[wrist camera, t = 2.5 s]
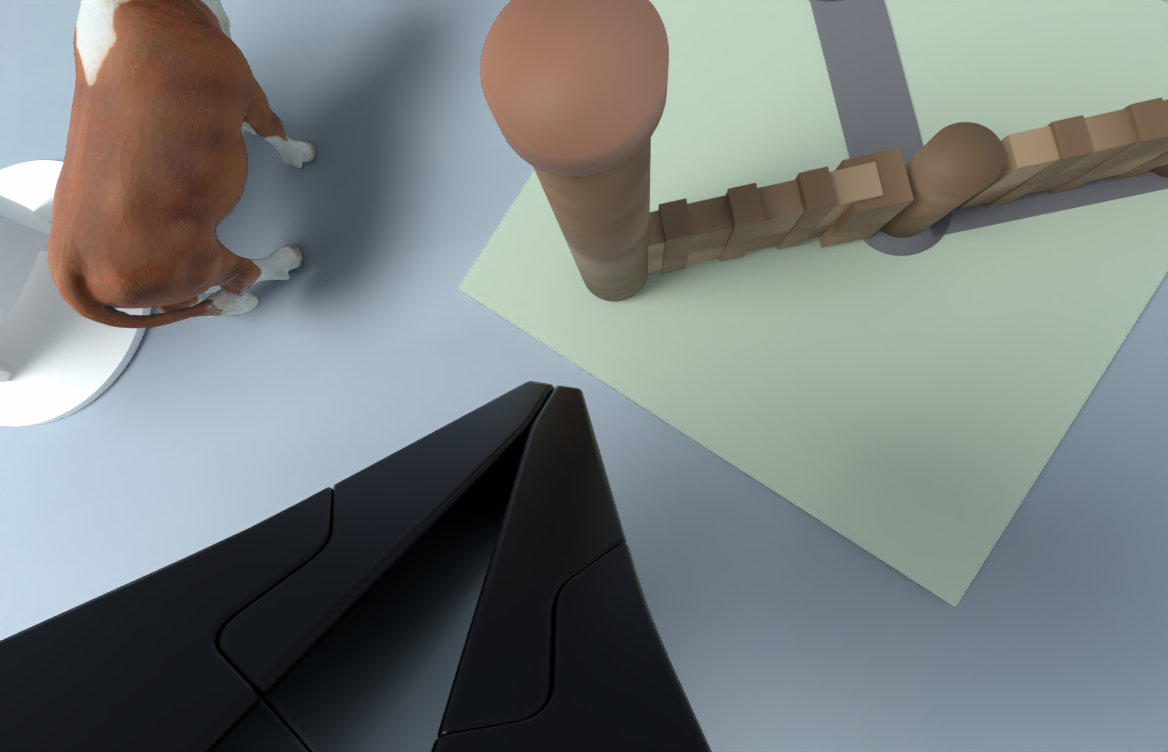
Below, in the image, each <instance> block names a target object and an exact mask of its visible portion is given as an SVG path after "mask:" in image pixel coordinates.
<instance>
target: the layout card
mask: <svg viewBox="0 0 1168 752" xmlns="http://www.w3.org/2000/svg"><path fill="white" fill-rule="evenodd" d="M649 1H650V2H651V3H652V4H653V6H654V7H655V9H656V10H657V12H658V13H659V15H660V17H661V19H662V21H663V24H664V26H665V30H666V33H667V37H668V44H669V68H668V84H667V96H666V104H665V107H664V111H663V115H662V117H661V119H660V122H659V124H658V126H657V128H656V130H655V131H654V133H653V135H652V136H651V162H650V212H653V211H657V210H658V207H659V204H662V203H667V202H671V201H676V200H680V199H685V198H686V200H687V204H689V203H693V202H697V201H702V200H706V199H711V198H715V197H720V196H724V195H726V193H727V190H728V189H729V188H734V187H738V186H743V185H747V184H751V183H756V184H757V188H760V187H764V186H769V185H773V184H778V183H782V182H787V181H791V180H795V179H796V177H797V175H798V174H799V173H800V172H805V171H809V170H814V169H818V168H823V167H827V166H828V169H829V172H832V171H835V170H836V168H837V167H838V166H839V164H840V163H841V161H842V160H845V159H850V158H854V157H859V156H863V155H868V154H872V153H876V152H881V151H885V150H890V149H894V148H899V147H900V149H901V153H902V156H903V160H904V164H906V163H907V162H908V161H909V160H910V159H911V158H912V157H913V156H914V155H915V154H916V153H917V152H918V151H919V150H920V149H921V148H922V147H923V146H924V145H925V144H926V143H927V142H928V141H929V140H930V139H931V138H932V137H933V136H934V135H935V134H936V133H938V132H939V131H940V130H941V129H943V128H944V127H946V126H948V125H951V124H954V123H959V122H972V123H977V124H980V125H983V126H985V127H987V128H988V129H990V130H991V131H993V132H994V133H995V134H996V135H997V136H998V138H999V139H1000V141H1001V140H1002V139H1004V138H1005V137H1006V136H1007V135H1010V134H1014V133H1019V132H1023V131H1028V130H1032V129H1037V128H1041V127H1045V126H1047V125H1048V124H1050V123H1051V122H1054V121H1058V120H1062V119H1067V118H1071V117H1076V116H1080V115H1083V116H1084V118H1086V117H1090V116H1095V115H1099V114H1104V113H1108V112H1113V111H1117V110H1122V109H1124V108H1125V107H1127V106H1128V105H1130V104H1134V103H1138V102H1143V101H1147V100H1152V99H1156V98H1161V97H1162V99H1163V100H1166V99H1168V3H1166V2H1164V1H1161V0H649ZM1167 272H1168V178H1165V177H1161V176H1159V175H1156V174H1155V173H1153V172H1152V171H1148V172H1146V173H1144V174H1142V175H1140V176H1135V177H1130V178H1125V179H1121V180H1116V181H1114V179H1113V176H1111V177H1107V178H1102V179H1097V180H1093V181H1089V182H1087V183H1085V184H1083V185H1082V186H1080V187H1078V188H1076V189H1073V190H1068V191H1064V192H1059V193H1054V194H1049V192H1048V190H1045V191H1041V192H1036V193H1031V194H1026V195H1023V196H1021V197H1020V198H1018V199H1016V200H1015V201H1013V202H1011V203H1007V204H1002V205H997V206H993V207H988V208H986V206H985V203H984V204H979V205H975V206H970V207H965V208H960V209H958V207H957V208H955V209H954V210H952V211H951V212H949V213H948V214H946V215H945V216H944V217H942V218H941V219H939V220H938V221H936V222H935V223H934V224H932V225H931V226H929V227H928V228H926V229H925V230H924V231H922V232H921V233H919V234H917V235H915V236H912V237H908V238H897V237H892V236H890V235H887V234H886V233H884V232H882V231H881V230H880V229H879V230H878V231H876V232H875V233H874V234H873V235H872V236H870V237H869V238H864V239H860V240H855V241H850V242H845V243H841V244H836V245H831V246H826V247H822V248H821V246H820V242H819V238H818V237H816V238H811V239H806V240H805V241H804V242H803V243H802V244H801V245H796V246H792V247H787V248H782V249H777V246H773V247H768V248H764V249H759V250H754V251H750V252H745V254H744V255H743V257H740V258H735V259H730V260H725V261H721V262H719V258H717V259H712V260H707V261H702V262H698V263H693V264H688V265H686V268H685V269H683V270H678V271H673V272H669V273H664V274H662V270H660V271H655V272H651V273H648V277H647V280H646V282H645V284H644V286H643V287H642V288H641V290H640V291H639V292H638V293H636V294H635V295H634V296H632V297H630V298H628V299H626V300H623V301H617V302H612V301H606V300H603V299H600V298H598V297H596V296H595V295H594V294H592V293H591V292H590V291H589V289H588V288H587V287H586V285H585V283H584V281H583V279H582V276H581V274H580V272H579V270H578V267H577V265H576V263H575V260H574V258H573V256H572V254H571V251H570V249H569V247H568V245H567V242H566V240H565V238H564V235H563V233H562V231H561V229H560V226H559V224H558V222H557V220H556V217H555V215H554V213H553V210H552V208H551V206H550V204H549V201H548V199H547V197H546V195H545V192H544V190H543V188H542V185H541V183H540V181H539V179H538V176H537V174H536V172H535V170H534V172H533V173H532V175H531V176H530V178H529V179H528V181H527V182H526V184H525V185H524V187H523V188H522V190H521V191H520V193H519V195H518V196H517V198H516V199H515V201H514V202H513V204H512V205H511V207H510V208H509V210H508V211H507V213H506V215H505V216H504V218H503V219H502V221H501V222H500V224H499V225H498V227H497V228H496V230H495V231H494V233H493V235H492V236H491V238H490V239H489V241H488V242H487V244H486V245H485V247H484V248H483V250H482V251H481V253H480V255H479V256H478V258H477V259H476V261H475V262H474V264H473V265H472V267H471V268H470V270H469V271H468V273H467V275H466V276H465V278H464V279H463V281H462V282H461V284H460V285H459V287H458V288H457V289H459V290H460V291H462V292H463V293H465V294H467V295H468V296H470V297H471V298H473V299H474V300H476V301H477V302H479V303H481V304H482V305H484V306H485V307H487V308H488V309H490V310H491V311H493V312H495V313H496V314H498V315H499V316H501V317H502V318H504V319H506V320H507V321H509V322H510V323H512V324H513V325H515V326H516V327H518V328H520V329H521V330H523V331H524V332H526V333H527V334H529V335H530V336H532V337H534V338H535V339H537V340H538V341H540V342H541V343H543V344H545V345H546V346H548V347H549V348H551V349H552V350H554V351H555V352H557V353H559V354H560V355H562V356H563V357H565V358H566V359H568V360H570V361H571V362H573V363H574V364H576V365H577V366H579V367H580V368H582V369H584V370H585V371H587V372H588V373H590V374H591V375H593V376H594V377H596V378H598V379H599V380H601V381H602V382H604V383H605V384H607V385H609V386H610V387H612V388H613V389H615V390H616V391H618V392H619V393H621V394H623V395H624V396H626V397H627V398H629V399H630V400H632V401H633V402H635V403H637V404H638V405H640V406H641V407H643V408H644V409H646V410H648V411H649V412H651V413H652V414H654V415H655V416H657V417H658V418H660V419H662V420H663V421H665V422H666V423H668V424H669V425H671V426H672V427H674V428H676V429H677V430H679V431H680V432H682V433H683V434H685V435H687V436H688V437H690V438H691V439H693V440H694V441H696V442H697V443H699V444H701V445H702V446H704V447H705V448H707V449H708V450H710V451H712V452H713V453H715V454H716V455H718V456H719V457H721V458H722V459H724V460H726V461H727V462H729V463H730V464H732V465H733V466H735V467H736V468H738V469H740V470H741V471H743V472H744V473H746V474H747V475H749V476H751V477H752V478H754V479H755V480H757V481H758V482H760V483H761V484H763V485H765V486H766V487H768V488H769V489H771V490H772V491H774V492H775V493H777V494H779V495H780V496H782V497H783V498H785V499H786V500H788V501H790V502H791V503H793V504H794V505H796V506H797V507H799V508H800V509H802V510H804V511H805V512H807V513H808V514H810V515H811V516H813V517H814V518H816V519H818V520H819V521H821V522H822V523H824V524H825V525H827V526H829V527H830V528H832V529H833V530H835V531H836V532H838V533H839V534H841V535H843V536H844V537H846V538H847V539H849V540H850V541H852V542H854V543H855V544H857V545H858V546H860V547H861V548H863V549H864V550H866V551H868V552H869V553H871V554H872V555H874V556H875V557H877V558H878V559H880V560H882V561H883V562H885V563H886V564H888V565H889V566H891V567H893V568H894V569H896V570H897V571H899V572H900V573H902V574H903V575H905V576H907V577H908V578H910V579H911V580H913V581H914V582H916V583H917V584H919V585H921V586H922V587H924V588H925V589H927V590H928V591H930V592H932V593H933V594H935V595H936V596H938V597H939V598H941V599H942V600H944V601H946V602H947V603H949V604H950V605H952V606H954V607H956V606H957V604H958V603H959V601H960V600H961V598H962V596H963V595H964V593H965V592H966V590H967V588H968V587H969V585H970V584H971V582H972V581H973V579H974V577H975V576H976V574H977V573H978V571H979V569H980V568H981V566H982V565H983V563H984V562H985V560H986V558H987V557H988V555H989V554H990V552H991V550H992V549H993V547H994V546H995V544H996V543H997V541H998V539H999V538H1000V536H1001V535H1002V533H1003V531H1004V530H1005V528H1006V527H1007V525H1008V524H1009V522H1010V520H1011V519H1012V517H1013V516H1014V514H1015V512H1016V511H1017V509H1018V508H1019V506H1020V505H1021V503H1022V501H1023V500H1024V498H1025V497H1026V495H1027V493H1028V492H1029V490H1030V489H1031V487H1032V486H1033V484H1034V482H1035V481H1036V479H1037V478H1038V476H1039V474H1040V473H1041V471H1042V470H1043V468H1044V467H1045V465H1046V463H1047V462H1048V460H1049V459H1050V457H1051V455H1052V454H1053V452H1054V451H1055V449H1056V448H1057V446H1058V444H1059V443H1060V441H1061V440H1062V438H1063V436H1064V435H1065V433H1066V432H1067V430H1068V428H1069V427H1070V425H1071V424H1072V422H1073V421H1074V419H1075V417H1076V416H1077V414H1078V413H1079V411H1080V409H1081V408H1082V406H1083V405H1084V403H1085V402H1086V400H1087V398H1088V397H1089V395H1090V394H1091V392H1092V390H1093V389H1094V387H1095V386H1096V384H1097V383H1098V381H1099V379H1100V378H1101V376H1102V375H1103V373H1104V371H1105V370H1106V368H1107V367H1108V365H1109V364H1110V362H1111V360H1112V359H1113V357H1114V356H1115V354H1116V352H1117V351H1118V349H1119V348H1120V346H1121V345H1122V343H1123V341H1124V340H1125V338H1126V337H1127V335H1128V333H1129V332H1130V330H1131V329H1132V327H1133V326H1134V324H1135V322H1136V321H1137V319H1138V318H1139V316H1140V314H1141V313H1142V311H1143V310H1144V308H1145V307H1146V305H1147V303H1148V302H1149V300H1150V299H1151V297H1152V295H1153V294H1154V292H1155V291H1156V289H1157V288H1158V286H1159V284H1160V283H1161V281H1162V280H1163V278H1164V276H1165V275H1166V273H1167Z"/></svg>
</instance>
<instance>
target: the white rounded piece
mask: <svg viewBox="0 0 1168 752" xmlns="http://www.w3.org/2000/svg"><path fill="white" fill-rule="evenodd" d="M62 166H63V162H61V161H51V160H42V161H31V162H24V163H20V164H16V165H13V166H10V167H7V168H4V169H2V170H0V425H1V426H32V425H40V424H45V423H49V422H53V421H56V420H59V419H62V418H64V417H66V416H69V415H71V414H73V413H75V412H77V411H79V410H80V409H82V408H84V407H85V406H87V405H88V404H90V403H91V402H93V401H94V400H95V399H96V398H98V397H99V396H100V395H101V394H102V393H104V392H105V391H106V390H107V389H108V388H109V387H110V386H111V385H112V384H113V383H114V382H115V380H116V379H117V378H118V377H119V376H120V374H121V373H122V372H123V371H124V369H125V368H126V366H127V365H128V363H129V362H130V360H131V359H132V357H133V355H134V354H135V352H136V350H137V348H138V346H139V344H140V342H141V340H142V338H143V335H144V332H145V330H146V328H119V327H113V326H109V325H105V324H102V323H98V322H95V321H93V320H90V319H88V318H86V317H83V316H81V315H80V314H78V313H77V312H76V311H75V310H74V309H73V308H72V307H71V306H70V305H69V304H68V303H67V302H66V301H65V300H64V299H63V297H62V296H61V294H60V293H59V290H58V288H57V287H56V285H55V283H54V281H53V278H52V276H51V273H50V269H49V265H48V260H47V255H48V241H49V235H50V229H51V223H52V212H53V201H54V193H55V188H56V184H57V180H58V177H59V174H60V171H61V169H62ZM115 309H117V310H119V311H123V312H126V313H128V314H130V315H150V314H151V309H152V308H133V309H130V308H115Z"/></svg>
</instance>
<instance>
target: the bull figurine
mask: <svg viewBox="0 0 1168 752" xmlns="http://www.w3.org/2000/svg"><path fill="white" fill-rule="evenodd" d="M74 55H75V63H76V83H75V92H74V98H73V104H72V111H71V120H70V126H69V132H68V138H67V147H66V154H65V158H64V162H63V166H62V169H61V171H60V174H59V177H58V180H57V184H56V188H55V193H54V201H53V212H52V223H51V229H50V235H49V241H48V255H47V260H48V265H49V269H50V273H51V276H52V278H53V281H54V283H55V285H56V287H57V288H58V290H59V293H60V294H61V296H62V297H63V299H64V300H65V301H66V302H67V303H68V304H69V305H70V306H71V307H72V308H73V309H74V310H75V311H76V312H77V313H78V314H80V315H81V316H83V317H86V318H88V319H90V320H93V321H95V322H98V323H102V324H105V325H109V326H113V327H119V328H150V327H156V326H161V325H165V324H170V323H173V322H176V321H180V320H183V319H187V318H190V317H196V316H208V317H211V318H216V317H220V316H230V315H238V314H243V313H248V312H250V311H251V310H252V309H253V308H255V307H257V305H258V299H257V297H255V296H254V295H252V294H250V293H248V292H246V290H247V289H248V288H249V287H250V286H252V285H254V284H256V283H258V282H261V281H265V280H288V279H290V277H289V274H288V271H289V270H291V269H295V268H298V267H299V266H300V265H301V263H302V259H303V257H302V252H301V250H300V249H299V248H298V247H296V246H293V245H291V244H289V245H286V246H284V247H282V248H280V249H278V250H276V251H275V252H273V253H272V254H271V255H269V256H268V257H266V258H263V259H247V258H243V257H240V256H237V255H236V254H234V253H232V252H231V251H230V250H228V249H227V248H226V247H225V246H224V245H222V244H221V242H220V241H219V240H218V239H217V236H216V227H217V226H218V224H219V223H220V222H221V221H222V220H223V219H224V218H225V217H226V216H227V215H228V214H229V213H232V212H233V209H234V208H235V206H236V205H237V203H238V202H239V200H240V198H241V196H242V193H243V190H244V185H245V181H246V176H247V165H248V158H247V151H246V147H245V143H244V137H243V129H244V130H245V131H248V132H251V133H252V134H254V135H259V136H260V137H262V138H263V139H265V140H267V141H269V142H270V143H272V144H273V145H274V146H275V148H276V149H277V150H278V152H279V154H280V156H281V158H282V160H283V161H284V162H285V163H288V164H292V165H293V166H294V167H297V168H301V167H302V163H303V162H311V161H312V160H313V159H314V157H315V155H316V149H315V147H314V145H313V144H311V143H309V142H308V141H294V140H292V139H289V138H288V137H287V136H286V135H285V134H284V132H283V128H282V124H281V121H280V119H279V118H278V117H277V116H276V115H275V114H274V113H273V112H272V110H271V109H270V107H269V104H268V101H267V98H266V96H265V93H264V92H263V90H262V88H261V87H260V85H259V84H258V82H257V81H256V80H255V78H254V77H253V74H252V72H251V69H250V67H249V65H248V62H247V60H246V58H245V57H244V55H243V54H242V52H241V50H240V49H239V48H238V47H237V45H236V44H235V43H234V42H233V41H232V39H231V35H230V22H229V19H228V17H227V15H226V13H225V11H224V9H223V7H222V5H221V3H220V0H81V6H80V11H79V15H78V19H77V23H76V28H75V34H74ZM215 285H220V286H221V290H218V291H217V292H215V293H211V294H201V293H203V292H205V291H206V290H207V289H209V288H210V287H211V286H215ZM154 307H158V308H159V309H160V310H161V312H162V313H157V314H151V315H130V314H128V313H126V312H123V311H119V310H117V309H115V308H130V309H133V308H154Z"/></svg>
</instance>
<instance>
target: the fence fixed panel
mask: <svg viewBox="0 0 1168 752" xmlns="http://www.w3.org/2000/svg"><path fill="white" fill-rule="evenodd" d="M905 168H906V171H907V175H908V179H909V183H910V187H911V190H912V194H913V198H914V200H913V201H912V202H911V203H910V204H909V205H907V206H906V207H905V208H904V209H903V210H902V211H900V212H899V213H898V214H897V215H896V216H894V217H893V218H892V219H891V220H890V221H888V222H887V223H886V224H885V225H884V226H882V227H881V228H880V230H881V231H882V232H884V233H886V234H887V235H890V236H892V237H897V238H908V237H912V236H915V235H917V234H919V233H921V232H922V231H924V230H925V229H926V228H928V227H929V226H931V225H932V224H934V223H935V222H936V221H938V220H939V219H941V218H942V217H944V216H945V215H946V214H948V213H949V212H951V211H952V210H954V209H955V208H957V207H958V209H960V208H965V207H970V206H975V205H979V204H984V203H985V206H986V208H988V207H993V206H997V205H1002V204H1007V203H1011V202H1013V201H1015V200H1016V199H1018V198H1020V197H1021V196H1023V195H1026V194H1031V193H1036V192H1041V191H1045V190H1048V192H1049V194H1054V193H1059V192H1064V191H1068V190H1073V189H1076V188H1078V187H1080V186H1082V185H1083V184H1085V183H1087V182H1089V181H1093V180H1097V179H1102V178H1107V177H1111V176H1113V179H1114V181H1116V180H1121V179H1125V178H1130V177H1135V176H1140V175H1142V174H1144V173H1146V172H1148V171H1152V172H1153V173H1155V174H1156V175H1159V176H1161V177H1165V178H1168V99H1166V100H1163V99H1162V97H1161V98H1156V99H1152V100H1147V101H1143V102H1138V103H1134V104H1130V105H1128V106H1127V107H1125V108H1124V109H1122V110H1117V111H1113V112H1108V113H1104V114H1099V115H1095V116H1090V117H1086V118H1084V116H1083V115H1080V116H1076V117H1071V118H1067V119H1062V120H1058V121H1054V122H1051V123H1050V124H1048V125H1047V126H1045V127H1041V128H1037V129H1032V130H1028V131H1023V132H1019V133H1014V134H1010V135H1007V136H1006V137H1005V138H1004V139H1002V140H1001V141H1000V139H999V138H998V136H997V135H996V134H995V133H994V132H993V131H991V130H990V129H988V128H987V127H985V126H983V125H980V124H977V123H972V122H959V123H954V124H951V125H948V126H946V127H944V128H943V129H941V130H940V131H939V132H938V133H936V134H935V135H934V136H933V137H932V138H931V139H930V140H929V141H928V142H927V143H926V144H925V145H924V146H923V147H922V148H921V149H920V150H919V151H918V152H917V153H916V154H915V155H914V156H913V157H912V158H911V159H910V160H909V161H908V162H907V163H906V164H905Z"/></svg>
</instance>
